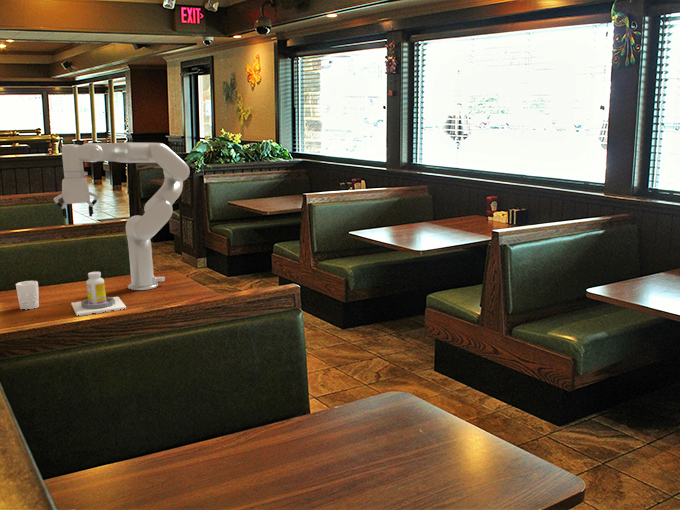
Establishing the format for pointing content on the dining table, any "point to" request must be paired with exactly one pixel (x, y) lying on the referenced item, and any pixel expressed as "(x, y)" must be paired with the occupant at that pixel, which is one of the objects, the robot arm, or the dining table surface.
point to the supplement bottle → (96, 289)
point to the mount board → (98, 306)
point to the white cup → (28, 294)
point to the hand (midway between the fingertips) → (78, 217)
